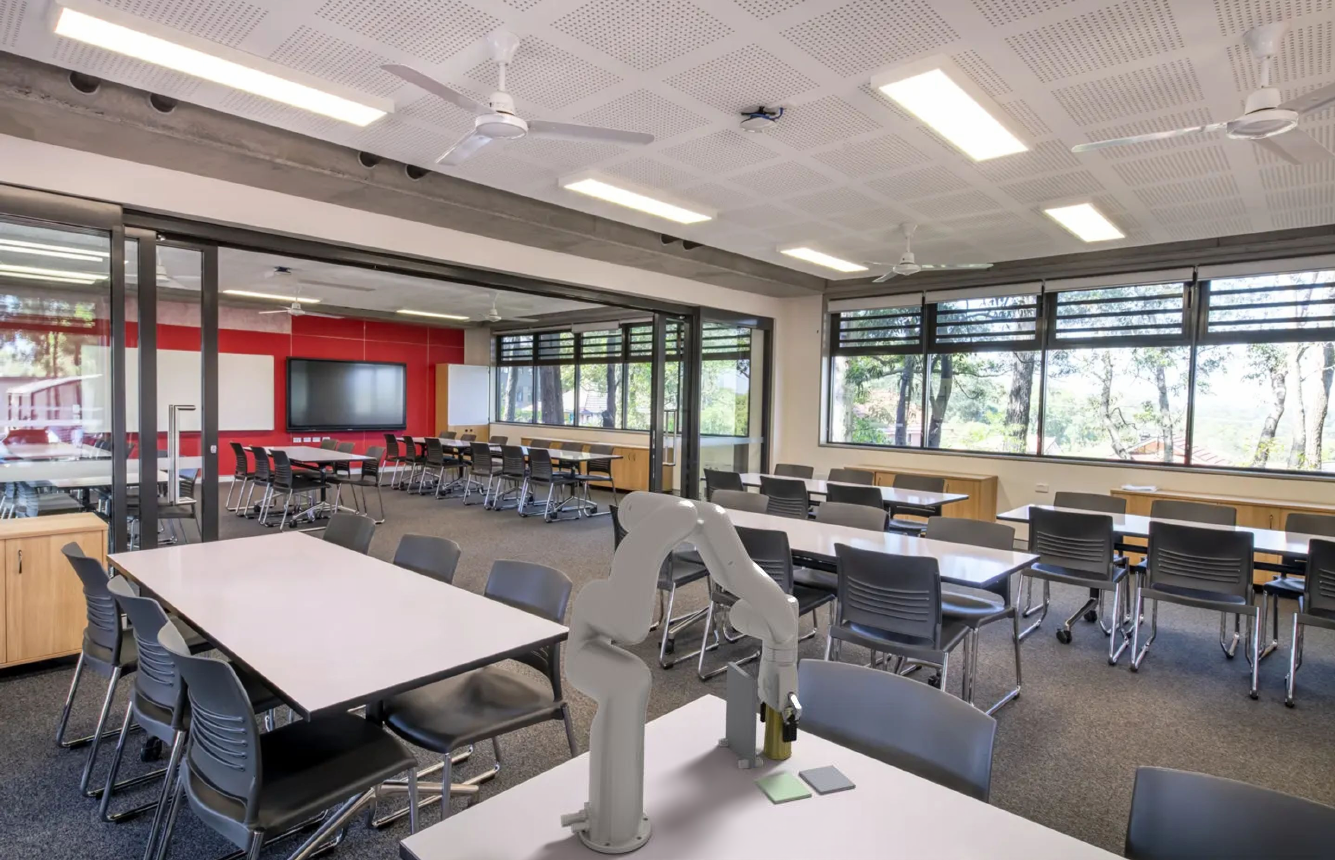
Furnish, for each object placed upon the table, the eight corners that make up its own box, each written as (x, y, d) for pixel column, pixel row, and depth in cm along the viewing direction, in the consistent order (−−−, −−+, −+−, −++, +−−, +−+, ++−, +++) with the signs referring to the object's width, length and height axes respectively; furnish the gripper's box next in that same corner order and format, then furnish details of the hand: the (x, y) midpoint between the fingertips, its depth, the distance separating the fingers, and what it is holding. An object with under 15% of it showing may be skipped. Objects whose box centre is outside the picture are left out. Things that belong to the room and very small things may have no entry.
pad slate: (820, 794, 134) (820, 791, 134) (799, 773, 141) (799, 771, 141) (855, 787, 136) (855, 784, 136) (832, 767, 144) (832, 765, 144)
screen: (741, 769, 142) (744, 683, 142) (717, 743, 153) (719, 662, 153) (763, 765, 144) (765, 680, 144) (737, 739, 155) (739, 660, 155)
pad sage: (775, 803, 130) (775, 800, 130) (755, 781, 138) (755, 779, 138) (811, 795, 133) (811, 793, 133) (790, 775, 141) (790, 772, 140)
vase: (793, 760, 147) (795, 694, 146) (764, 759, 147) (766, 693, 146) (789, 746, 153) (790, 682, 152) (761, 745, 153) (762, 682, 152)
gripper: (745, 641, 156) (744, 716, 156) (784, 668, 140) (782, 752, 140) (775, 638, 158) (773, 712, 159) (816, 664, 142) (814, 746, 143)
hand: (777, 730), depth 150 cm, fingers open, 9 cm apart
